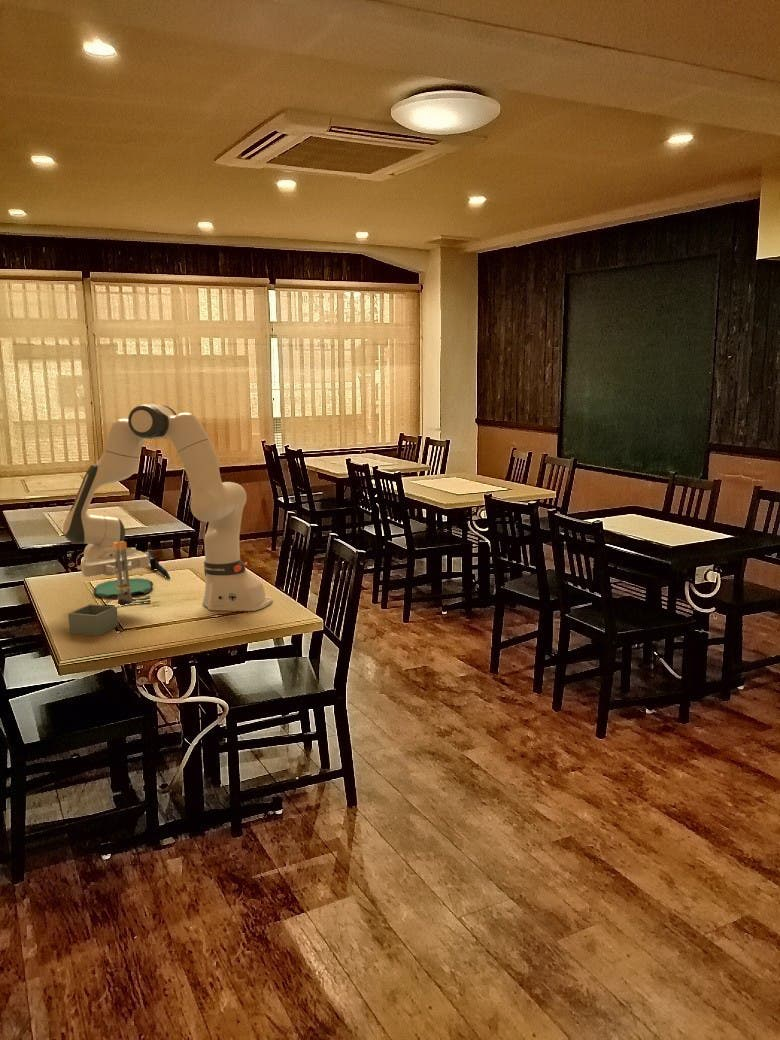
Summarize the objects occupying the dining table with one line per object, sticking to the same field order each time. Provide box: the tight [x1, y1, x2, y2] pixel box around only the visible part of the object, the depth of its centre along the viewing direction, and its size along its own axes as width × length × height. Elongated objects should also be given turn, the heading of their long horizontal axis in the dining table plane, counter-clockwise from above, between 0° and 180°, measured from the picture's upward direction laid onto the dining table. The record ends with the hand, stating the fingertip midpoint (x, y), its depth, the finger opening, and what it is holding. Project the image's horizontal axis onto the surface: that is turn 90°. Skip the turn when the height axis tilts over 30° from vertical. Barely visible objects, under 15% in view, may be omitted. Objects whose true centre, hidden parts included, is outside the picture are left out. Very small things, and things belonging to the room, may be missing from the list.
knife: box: [143, 550, 171, 580], centre depth 302 cm, size 31×3×4 cm, turn 30°
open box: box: [67, 603, 119, 637], centre depth 235 cm, size 10×10×6 cm
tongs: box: [113, 540, 133, 606], centre depth 244 cm, size 4×4×19 cm
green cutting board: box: [92, 577, 154, 604], centre depth 273 cm, size 20×30×2 cm, turn 19°
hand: (122, 569), depth 243 cm, fingers closed on tongs, 3 cm apart
